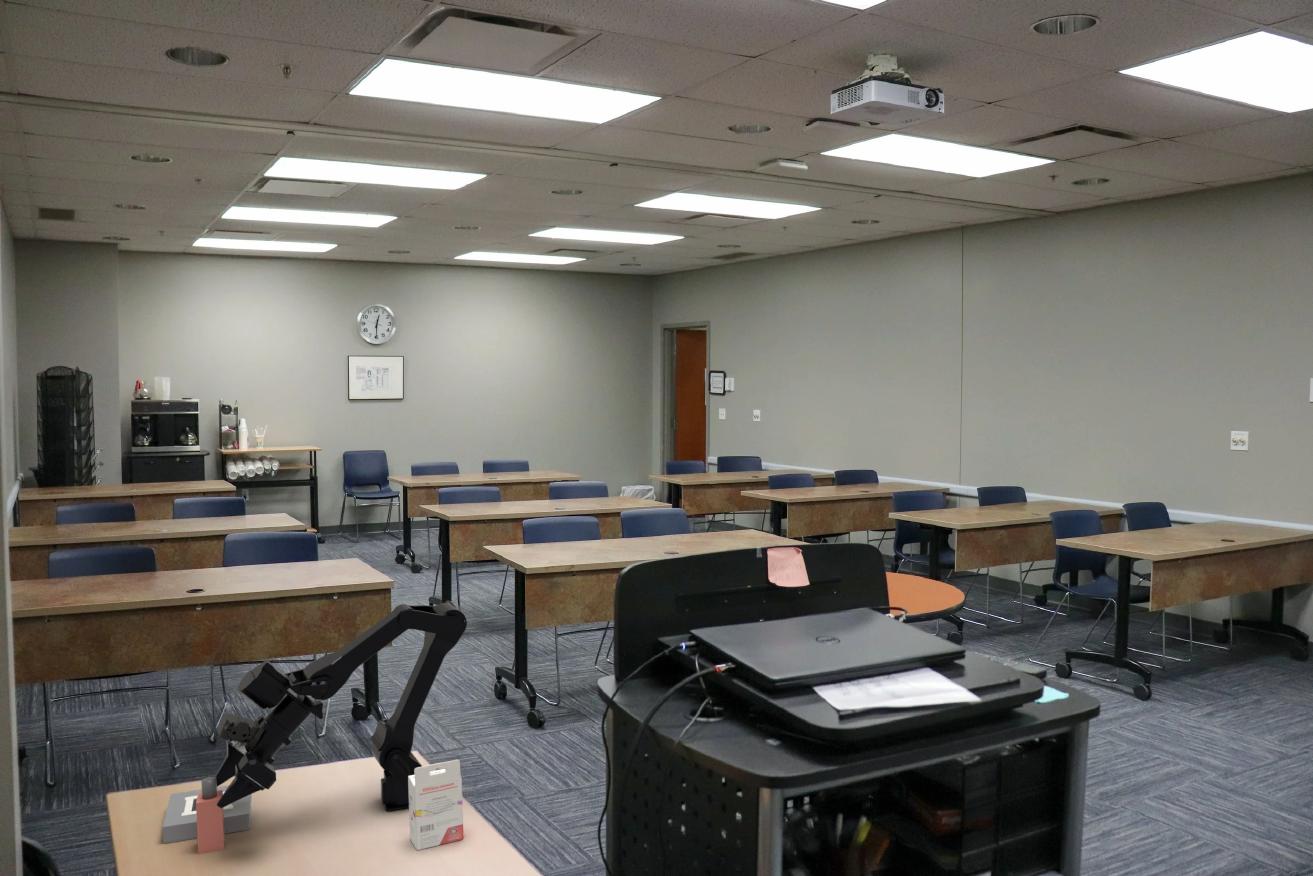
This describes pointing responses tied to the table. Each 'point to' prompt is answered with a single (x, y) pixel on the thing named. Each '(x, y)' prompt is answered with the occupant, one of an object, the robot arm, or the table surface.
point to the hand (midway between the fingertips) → (215, 796)
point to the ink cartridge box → (435, 805)
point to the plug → (210, 817)
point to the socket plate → (184, 816)
